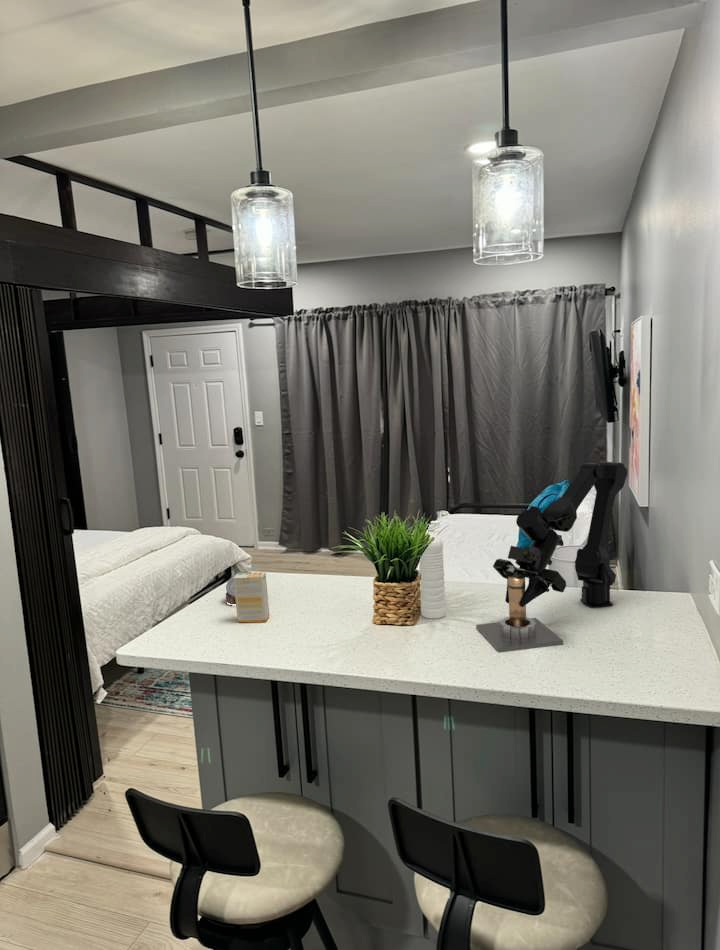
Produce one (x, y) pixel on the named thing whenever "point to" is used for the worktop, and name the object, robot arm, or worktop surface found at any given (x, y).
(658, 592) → the worktop surface
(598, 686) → the worktop surface
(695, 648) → the worktop surface
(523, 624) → the copper cylindrical bottle
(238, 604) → the supplement box
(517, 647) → the plate
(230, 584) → the canned food
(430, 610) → the water bottle
